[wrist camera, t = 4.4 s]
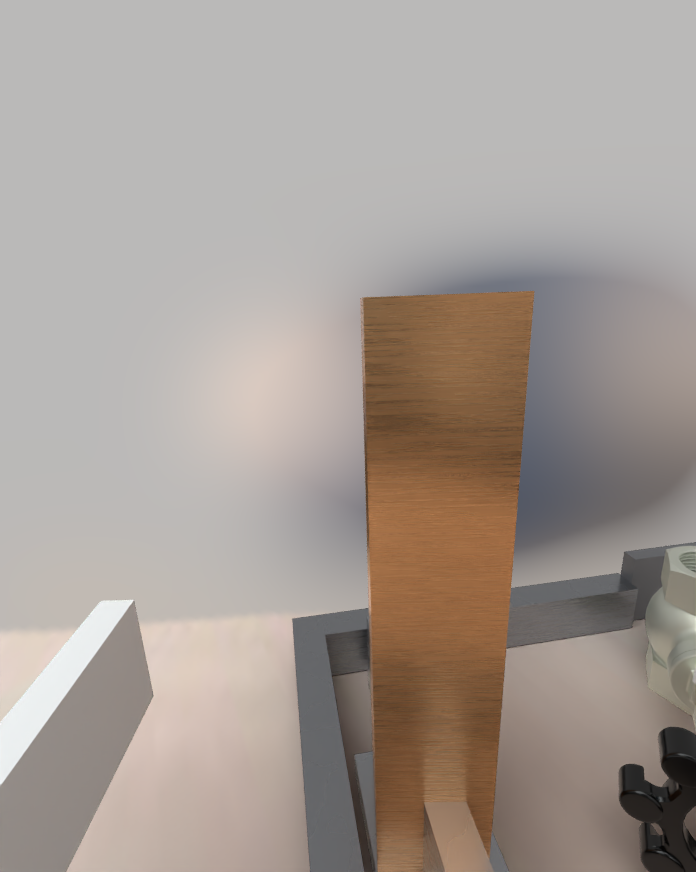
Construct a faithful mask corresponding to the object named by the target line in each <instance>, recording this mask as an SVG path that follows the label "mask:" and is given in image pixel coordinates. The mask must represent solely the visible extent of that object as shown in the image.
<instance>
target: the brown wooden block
mask: <svg viewBox="0 0 696 872" xmlns="http://www.w3.org/2000/svg"><path fill="white" fill-rule="evenodd" d="M533 299H534V291H523V292H498V293H471V294H447V295H446V294H445V295H419V296H418V295H417V296H394V297H393V296H391V297H365V298H360V300H361V337H362V373H363V408H364V409H363V410H364V411H363V412H364V449H365V485H366V521H367V522H366V523H367V560H368V598H369V616H367V651H368V685H369V689H370V693H371V710H372V748H373V751H371V752H366V753H361V754H355V755H354V756H355V775H356V781H357V786H358V792H359V797H360V803H361V808H362V814H363V819H364V825H365V830H366V836H367V841H368V847H369V852H370V858H371V863H372V869H373V872H509V870H508V868H507V866H506V863H505V861H504V858H503V856H502V854H501V851H500V849H499V847H498V844H497V842H496V839H495V837H494V835H493V832H492V821H493V808H494V796H495V783H496V770H497V758H498V745H499V732H500V720H501V707H502V694H503V682H504V669H505V656H506V643H507V631H508V618H509V605H510V593H511V580H512V567H513V554H514V542H515V529H516V515H517V504H518V490H519V478H520V465H521V452H522V440H523V427H524V414H525V402H526V389H527V377H528V364H529V352H530V351H529V350H530V339H531V326H532V313H533V301H534V300H533Z"/></svg>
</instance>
